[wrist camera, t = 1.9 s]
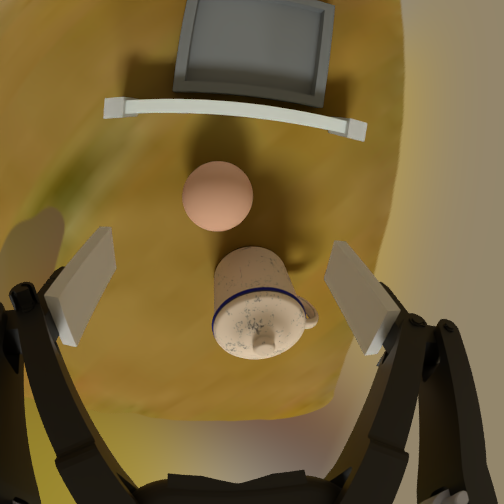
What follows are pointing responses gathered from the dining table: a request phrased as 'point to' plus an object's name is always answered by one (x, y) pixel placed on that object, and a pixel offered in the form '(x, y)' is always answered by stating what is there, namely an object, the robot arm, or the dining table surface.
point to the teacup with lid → (257, 305)
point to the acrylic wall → (234, 113)
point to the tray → (256, 49)
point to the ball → (217, 196)
